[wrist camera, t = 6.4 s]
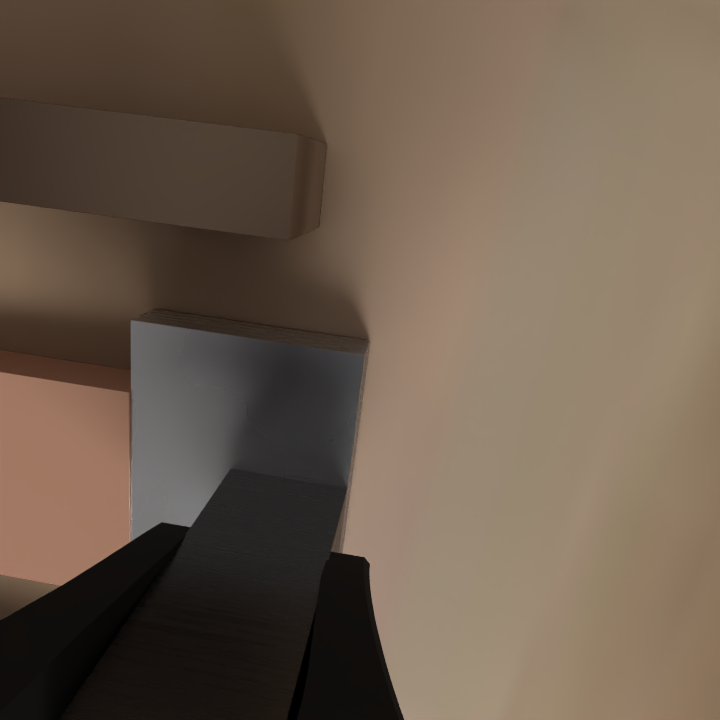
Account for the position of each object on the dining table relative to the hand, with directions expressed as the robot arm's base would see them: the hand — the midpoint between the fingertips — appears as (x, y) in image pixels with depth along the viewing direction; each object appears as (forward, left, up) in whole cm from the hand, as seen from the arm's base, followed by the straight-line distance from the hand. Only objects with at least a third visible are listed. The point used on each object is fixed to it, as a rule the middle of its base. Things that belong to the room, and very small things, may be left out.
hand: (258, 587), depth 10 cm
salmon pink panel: (+6, 0, -3) cm, 7 cm away
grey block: (+1, 0, -3) cm, 3 cm away
